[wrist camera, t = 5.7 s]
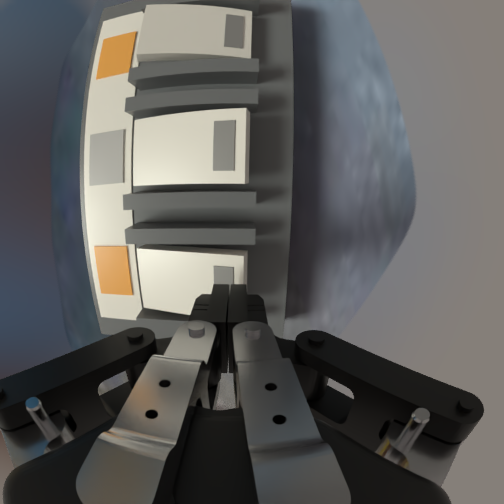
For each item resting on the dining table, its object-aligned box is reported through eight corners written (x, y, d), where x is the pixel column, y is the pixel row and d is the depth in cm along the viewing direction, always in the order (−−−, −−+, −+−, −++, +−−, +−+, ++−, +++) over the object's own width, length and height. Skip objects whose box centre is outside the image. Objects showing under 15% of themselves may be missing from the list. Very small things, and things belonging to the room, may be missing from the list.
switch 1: (146, 13, 10) (146, 4, 9) (246, 18, 12) (252, 10, 11) (137, 61, 11) (136, 53, 10) (245, 65, 13) (251, 58, 12)
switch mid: (144, 122, 13) (133, 119, 12) (250, 112, 12) (246, 107, 11) (142, 185, 14) (132, 185, 13) (248, 183, 13) (244, 183, 12)
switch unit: (118, 24, 13) (92, -3, 9) (283, 11, 14) (295, -26, 9) (116, 314, 20) (90, 348, 15) (277, 320, 20) (286, 360, 16)
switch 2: (145, 244, 15) (135, 248, 14) (247, 250, 14) (243, 256, 13) (151, 300, 16) (143, 307, 15) (246, 313, 15) (242, 322, 14)
